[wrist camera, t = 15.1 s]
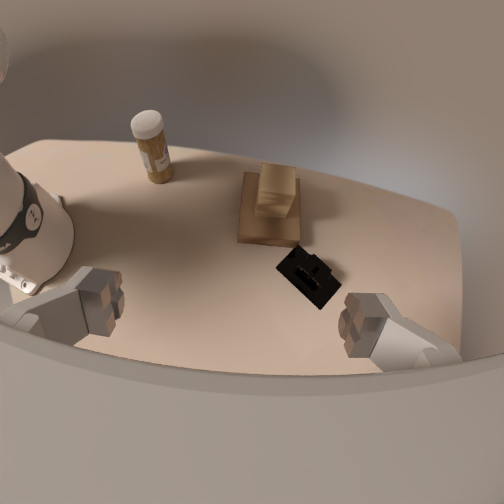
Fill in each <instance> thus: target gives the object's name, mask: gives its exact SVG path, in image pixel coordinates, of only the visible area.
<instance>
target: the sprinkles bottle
mask: <svg viewBox="0 0 504 504" xmlns="http://www.w3.org/2000/svg"><path fill="white" fill-rule="evenodd" d="M131 129H132V132H133V135H134V136H135V138H136V140H137V144H138V148H139V151H140V154H141V157H142V160H143V163H144V166H145V168H146V170H147V172H148V178H149V179H150V181H152V182H153V183H159V184H160V183H163V182H165V181H167V180H169V179H170V177H171V176H172V173H173V169H172V167H171V163H170V157H169V153H168V148H167V144H166V141H165V136H164V132H163V120H162V116H161V114H160V113H159V112H157V111H154V110H147V111H143V112H141V113H139V114H137V115H136V116H135V117H134V118H133V119H132V121H131Z"/></svg>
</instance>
